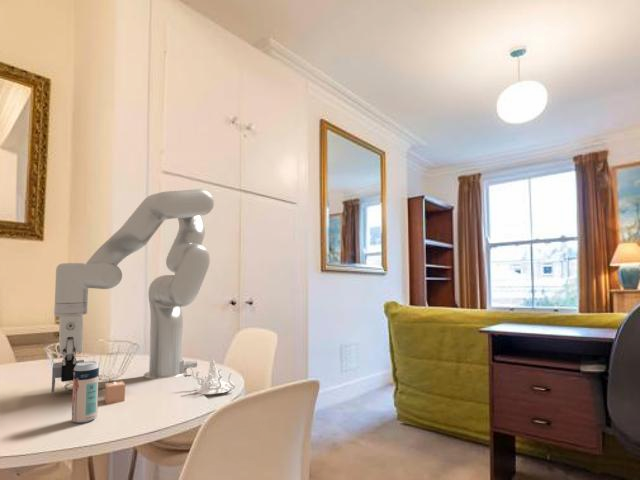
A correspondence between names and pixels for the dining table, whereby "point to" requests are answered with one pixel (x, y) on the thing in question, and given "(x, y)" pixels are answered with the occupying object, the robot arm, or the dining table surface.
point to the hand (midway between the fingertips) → (68, 376)
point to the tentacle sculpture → (212, 381)
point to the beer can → (85, 392)
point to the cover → (59, 372)
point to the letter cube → (114, 392)
